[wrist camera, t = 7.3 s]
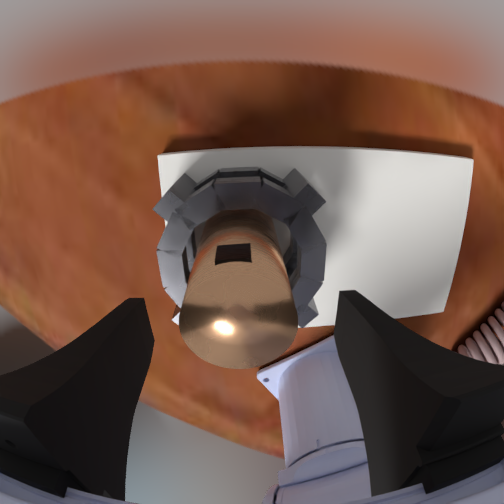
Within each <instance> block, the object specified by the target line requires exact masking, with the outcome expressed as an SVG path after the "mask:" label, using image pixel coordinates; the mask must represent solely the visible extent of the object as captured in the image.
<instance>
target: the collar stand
mask: <svg viewBox="0 0 504 504" xmlns="http://www.w3.org/2000/svg"><path fill="white" fill-rule="evenodd" d="M325 203H326V201H325V199H324V198H323V197H322V196H321V195H320V194H319V193H318V191H317V190H316V189H315V188H314V187H313V186H312V185H311V183H310V182H309V181H308V180H307V179H306V178H305V177H304V176H303V175H302V174H301V173H300V172H299V171H297V170H296V169H295V168H294V169H293V170H292V171H291V172H290V173H289V174H288V175H287V176H286V177H285V178H284V179H282V178H280V177H278V176H276V175H274V174H272V173H270V172H268V171H266V170H265V169H263V168H261V167H260V168H259V170H258V167H236V168H221V169H220V170H219V169H218V170H216V171H215V172H213V173H212V174H210V175H209V176H207V177H206V178H204V179H202V180H201V181H199V182H198V183H196V182H195V181H194V180H193V179H191V178H190V177H189V176H188V175H187V174H186V173H184V174H183V175H182V176H181V177H180V178H179V179H178V180H177V181H176V182H175V183H174V184H173V185H172V186H171V187H170V188H169V190H168V191H167V192H166V193H165V194H164V196H163V197H162V198H161V199H160V201H159V202H158V203H157V204H156V206H155V207H154V208H153V210H154V211H155V212H156V213H158V214H159V215H160V216H161V217H162V218H164V219H165V220H166V221H167V222H168V223H167V225H166V228H165V230H164V232H163V235H162V237H161V239H160V242H159V244H158V246H157V248H158V249H157V257H158V262H159V268H160V274H161V279H162V284H163V287H165V289H164V290H165V291H166V292H167V293H168V295H169V296H170V297H171V298H172V299H173V300H174V302H175V303H176V304H177V305H176V308H175V311H174V314H173V318H172V321H174V322H175V323H177V324H178V325H179V315H180V310H181V306H182V303H183V299H184V295H185V292H186V288H187V284H188V281H189V277H190V274H191V270H192V267H193V263H194V260H195V256H196V253H197V249H196V241H195V232H194V228H195V227H196V226H198V225H199V224H201V223H202V222H204V221H206V220H207V219H209V218H210V217H212V216H214V215H215V214H217V213H218V212H220V211H221V210H239V209H257V210H259V211H261V212H263V213H265V214H267V215H269V216H271V217H273V218H275V219H277V220H279V221H281V222H283V223H285V224H286V225H287V227H288V228H289V230H290V246H289V248H288V249H287V251H286V252H285V254H284V256H283V260H284V264H285V268H286V272H287V276H288V279H289V283H290V287H291V291H292V295H293V299H294V303H295V306H296V310H297V315H298V325H299V326H300V327H301V328H303V327H305V326H306V325H307V324H308V323H309V322H311V321H312V320H313V319H314V318H316V317H317V316H318V315H319V313H318V310H317V307H316V304H315V301H314V298H313V297H314V296H315V294H316V293H317V291H318V290H319V289H320V287H321V286H322V284H323V282H322V281H324V275H325V262H326V247H327V243H326V240H325V238H324V236H323V235H322V233H321V231H320V229H319V228H318V226H317V224H316V222H315V220H314V219H313V217H312V215H313V214H314V213H315V212H316V211H317V210H318V209H319V208H321V207H322V206H323V205H324V204H325Z"/></svg>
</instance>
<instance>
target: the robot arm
mask: <svg viewBox="0 0 504 504" xmlns="http://www.w3.org/2000/svg"><path fill="white" fill-rule="evenodd" d="M154 341H155V340H154V336H153V333H152V329H151V325H150V321H149V317H148V313H147V309H146V305H145V301H144V298H128V299H127V300H125V301H124V302H123V303H121V304H120V305H119V306H118V307H116V308H115V309H114V310H113V311H111V312H110V313H109V314H108V315H106V316H105V317H104V318H103V319H101V320H100V321H99V322H98V323H96V324H95V325H94V326H93V327H91V328H90V329H89V330H87V331H86V332H84V333H83V334H82V335H80V336H79V337H78V338H76V339H75V340H73V341H72V342H71V343H69V344H67V345H66V346H64V347H63V348H61V349H59V350H58V351H56V352H54V353H53V354H51V355H49V356H47V357H45V358H43V359H41V360H39V361H37V362H35V363H33V364H30V365H28V366H26V367H23V368H21V369H18V370H16V371H13V372H10V373H7V374H4V375H0V504H137V503H131V502H126V501H125V479H126V465H127V455H128V446H129V439H130V432H131V427H132V421H133V416H134V413H135V409H136V405H137V402H138V399H139V396H140V393H141V390H142V387H143V384H144V381H145V378H146V375H147V372H148V369H149V366H150V363H151V357H152V352H153V347H154ZM257 378H258V379H259V380H260V381H261V382H262V384H263V385H264V386H265V387H266V388H267V389H268V390H269V391H270V392H271V393H272V394H273V395H274V396H275V397H276V398H277V399H278V400H279V405H280V414H281V424H282V433H283V443H284V453H285V463H286V469H283V470H280V471H278V480H279V484H277V485H273V486H271V487H270V488H269V489H268V491H267V493H266V495H265V497H264V499H263V501H262V504H504V441H503V439H502V437H501V435H502V434H503V433H504V428H503V426H502V424H501V422H502V421H503V419H504V366H502V365H498V364H493V363H489V362H484V361H480V360H477V359H474V358H471V357H467V356H464V355H462V354H459V353H456V352H454V351H451V350H449V349H446V348H444V347H442V346H440V345H437V344H435V343H433V342H431V341H429V340H428V339H426V338H424V337H422V336H420V335H418V334H417V333H415V332H413V331H412V330H410V329H408V328H407V327H405V326H404V325H402V324H401V323H399V322H398V321H396V320H395V319H394V318H392V317H391V316H389V315H388V314H387V313H385V312H384V311H383V310H381V309H380V308H379V307H377V306H376V305H375V304H373V303H372V302H371V301H370V300H368V299H367V298H366V297H364V296H363V295H362V294H360V293H359V292H357V291H356V290H344V291H339V297H338V305H337V313H336V321H335V328H334V335H332V336H330V337H328V338H327V339H325V340H323V341H321V342H319V343H317V344H315V345H313V346H311V347H309V348H306V349H304V350H302V351H300V352H298V353H296V354H294V355H292V356H290V357H288V358H286V359H283V360H281V361H279V362H277V363H275V364H272V365H270V366H268V367H266V368H264V369H261V370H259V371H258V372H257ZM264 378H267V379H264Z"/></svg>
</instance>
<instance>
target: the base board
mask: <svg viewBox="0 0 504 504" xmlns="http://www.w3.org/2000/svg"><path fill="white" fill-rule="evenodd" d="M473 162H474V160H473V159H470V158H467V157H462V156H454V155H446V154H437V153H428V152H418V151H406V150H393V149H378V148H359V147H329V146H272V147H241V148H222V149H206V150H193V151H181V152H170V153H162V154H160V155H158V165H159V175H160V184H161V193H162V197H163V196H164V194H165V193H166V192H167V191H168V190H169V188H170V187H171V186H172V185H173V184H174V183H175V182H176V181H177V180H178V179H179V178H180V177H181V176H182V175H183V174H184V173H186V174H187V175H188V176H189V177H190V178H191V179H193V180H194V181H195V182H196V183H198V182H199V181H201V180H202V179H204V178H206V177H207V176H209V175H210V174H212V173H213V172H215V171H216V170H218V169H219V170H220V169H221V168H236V167H258V170H259V168H260V167H261V168H263V169H265V170H266V171H268V172H270V173H272V174H274V175H276V176H278V177H280V178H282V179H284V178H285V177H286V176H287V175H288V174H289V173H290V172H291V171H292V170H293V169H294V168H295V169H296V170H297V171H299V172H300V173H301V174H302V175H303V176H304V177H305V178H306V179H307V180H308V181H309V182H310V183H311V185H312V186H313V187H314V188H315V189H316V190H317V191H318V193H319V194H320V195H321V196H322V197H323V198H324V199H325V201H326V203H325V204H324V205H323V206H322V207H321V208H319V209H318V210H317V211H316V212H315V213H314V214H313V215H312V217H313V219H314V220H315V222H316V224H317V226H318V228H319V229H320V231H321V233H322V235H323V236H324V238H325V240H326V243H327V247H326V262H325V275H324V281H322V282H323V284H322V286H321V287H320V289H319V290H318V291H317V293H316V294H315V296H314V297H313V298H314V301H315V304H316V307H317V310H318V313H319V315H318V316H317V317H316V318H314V319H313V320H312V321H311V322H309V323H308V324H307V325H306V326H305V327H315V326H327V325H335V321H336V313H337V305H338V297H339V291H344V290H356V291H357V292H359V293H360V294H362V295H363V296H364V297H366V298H367V299H368V300H370V301H371V302H372V303H373V304H375V305H376V306H377V307H379V308H380V309H381V310H383V311H384V312H385V313H387V314H388V315H389V316H391V317H392V318H394V319H396V318H404V317H411V316H419V315H426V314H433V313H440V312H443V311H444V308H445V305H446V301H447V298H448V295H449V291H450V287H451V284H452V280H453V276H454V272H455V268H456V264H457V260H458V256H459V251H460V247H461V242H462V237H463V232H464V227H465V221H466V215H467V209H468V203H469V196H470V189H471V181H472V172H473ZM272 220H273V223H274V227H275V231H276V234H277V238H278V242H279V246H280V249H281V253H282V257H283V256H284V254H285V252H286V251H287V249H288V248H289V246H290V230H289V228H288V227H287V225H286V224H285V223H283V222H281V221H279V220H277V219H275V218H273V217H272ZM167 223H168V222H167V221H166V220H165V225H167ZM205 223H206V221H204V222H202V223H201V224H199V225H198V226H196V227H195V228H194V232H195V241H196V249H198V246H199V243H200V239H201V236H202V233H203V229H204V226H205ZM298 328H301V327H300V326H299V325H298Z"/></svg>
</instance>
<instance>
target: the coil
mask: <svg viewBox="0 0 504 504" xmlns="http://www.w3.org/2000/svg"><path fill="white" fill-rule="evenodd" d="M501 307H502V309H503V311H504V302H502V304H501ZM503 311H502V310H501V309H496V310H495V313H494V314H495V316H496V318H497V319H498V320H499V322H500V323H501V324H502V325H503V327H504V312H503ZM487 321H488V323H489V325H490V326H491V327H492V328H493V330H494V331H495V333H496V334H497V336H498V337H499V339H500V340H499V339H498V338H497V337H496V335H495V334H494V333H493V332H492V331H491V329H490V328H489V327H488V326H487V324H485V323H483V324H481V326H480V329H481V331H482V332H483V334H484V335H485V337H486V338H487V340H488V341H487V340H486V339H485V338H484V336H483V335H482V334H481V333H480V332H479V331H474V333H473V337H474V339H475V341H476V342H475V341H474V340H473V339H472V338H467V339H466V341H465V343H466V346H467V347H466V346H464V345H459V347H458V353H459V354H462V355H464V356H467V357H471V358H474V359H477V360H480V361H484V362H489V363H493V364H498V363H499V364H503V363H504V330H503V328H502V327H501V325H500V324H499V323H498V321H497V320H496V319H495V318H494V317H493V316H490V317H488V320H487ZM477 344H478V345H477ZM456 353H457V352H456Z"/></svg>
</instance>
